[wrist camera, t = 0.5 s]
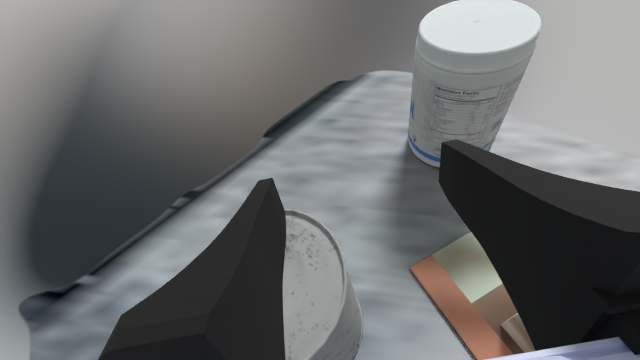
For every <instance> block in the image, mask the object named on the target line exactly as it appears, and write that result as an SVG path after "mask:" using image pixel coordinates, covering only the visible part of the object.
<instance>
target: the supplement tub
mask: <svg viewBox="0 0 640 360" xmlns="http://www.w3.org/2000/svg"><path fill="white" fill-rule="evenodd" d="M541 27H542V23H541V19H540V17H539V15H538V14H537V13H536V12H535V11H534V10H533V9H532V8H530V7H528V6H526V5H524V4H522V3H519V2H516V1H512V0H459V1H455V2H451V3H448V4H445V5H443V6H440V7H438V8H436V9H435V10H433V11H431V12H430V13H428V14H427V15H426V16H425V17H424V18H423V20H422V21H421V23H420V25H419V30H418V37H417V39H416V47H415V58H414V69H413V81H412V94H411V106H410V118H409V129H408V141H409V145H410V148H411V149H412V151H413V153H414V154H415V155H416V156H417V157H418V158H419V159H421V160H422V161H424V162H425V163H427V164H429V165H432V166H435V167H439V168H440V157H441V143H442V142H446V141H450V140H455V139H457V140H460V141H463V142H466V143H469V144H471V145H474V146H476V147H479V148H481V149H484V150H486V151H489V150H490V148H491V146H492V144H493V142H494V140H495V137H496V135H497V133H498V131H499V128H500V126H501V124H502V122H503V120H504V117H505V115H506V113H507V111H508V108H509V106H510V104H511V102H512V99H513V97H514V95H515V93H516V91H517V88H518V86H519V84H520V81H521V79H522V77H523V75H524V72H525V70H526V68H527V65H528V63H529V61H530V59H531V56H532V54H533V51H534V49H535V47H536V44H537V38H538V35H539V33H540V30H541Z"/></svg>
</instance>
